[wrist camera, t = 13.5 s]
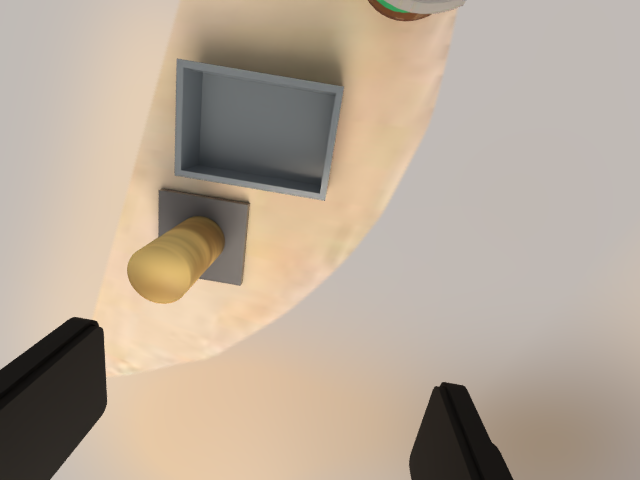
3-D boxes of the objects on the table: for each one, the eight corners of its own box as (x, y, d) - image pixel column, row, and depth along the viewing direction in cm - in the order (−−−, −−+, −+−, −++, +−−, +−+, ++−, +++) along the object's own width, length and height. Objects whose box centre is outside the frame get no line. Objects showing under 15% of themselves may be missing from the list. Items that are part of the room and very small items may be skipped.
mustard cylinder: (178, 212, 39) (126, 241, 30) (226, 220, 39) (189, 252, 30) (177, 257, 41) (128, 298, 32) (223, 264, 41) (187, 308, 32)
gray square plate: (162, 188, 39) (158, 190, 38) (249, 203, 39) (247, 205, 38) (161, 268, 43) (158, 271, 42) (242, 282, 42) (240, 285, 42)
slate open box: (198, 66, 35) (176, 58, 30) (343, 91, 35) (344, 86, 30) (195, 168, 38) (174, 175, 34) (327, 190, 38) (324, 200, 34)
